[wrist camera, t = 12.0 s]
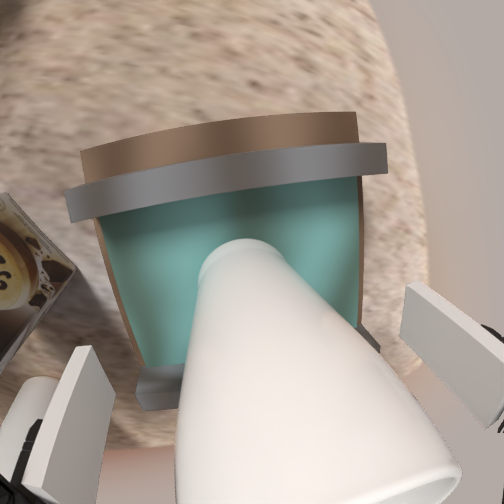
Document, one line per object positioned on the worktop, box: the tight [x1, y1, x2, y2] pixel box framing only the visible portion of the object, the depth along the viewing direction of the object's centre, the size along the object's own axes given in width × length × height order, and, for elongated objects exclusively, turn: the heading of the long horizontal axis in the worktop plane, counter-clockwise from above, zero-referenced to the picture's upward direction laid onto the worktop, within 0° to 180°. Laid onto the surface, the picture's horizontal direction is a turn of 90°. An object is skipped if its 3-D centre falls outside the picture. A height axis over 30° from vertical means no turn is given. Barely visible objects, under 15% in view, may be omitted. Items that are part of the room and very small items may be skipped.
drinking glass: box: [175, 238, 463, 504], centre depth 11 cm, size 7×7×15 cm
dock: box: [64, 112, 388, 411], centre depth 19 cm, size 16×18×7 cm
